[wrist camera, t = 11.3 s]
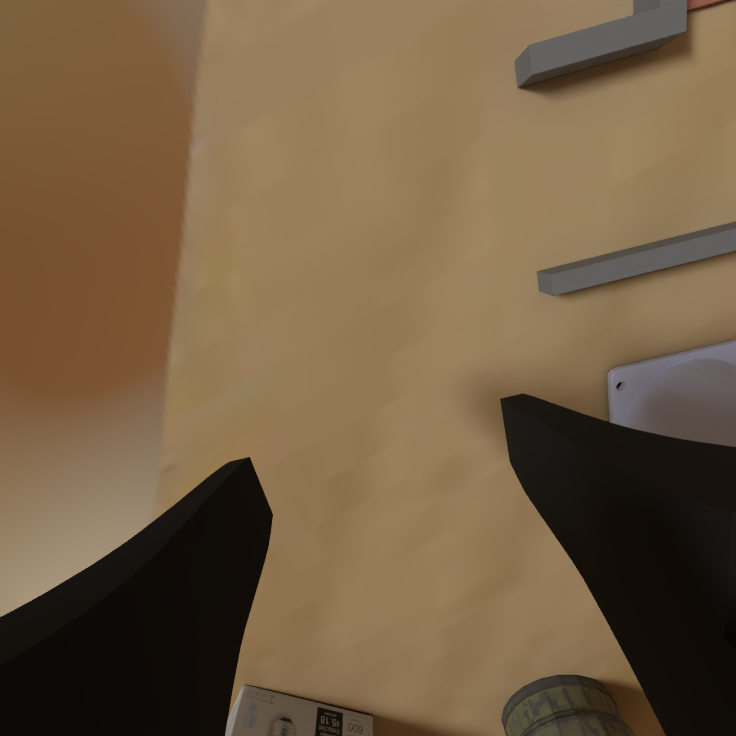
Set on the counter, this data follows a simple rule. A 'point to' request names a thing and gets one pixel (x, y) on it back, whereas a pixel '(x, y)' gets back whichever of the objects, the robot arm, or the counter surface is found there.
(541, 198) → the counter surface
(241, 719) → the light bulb box
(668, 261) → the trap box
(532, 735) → the grey stone statue
